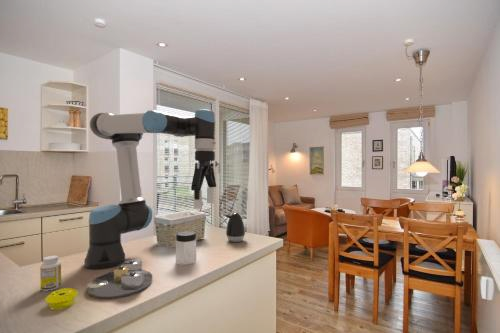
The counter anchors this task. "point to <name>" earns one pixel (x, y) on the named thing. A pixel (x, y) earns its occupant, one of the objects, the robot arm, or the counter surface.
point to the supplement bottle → (50, 273)
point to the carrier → (120, 281)
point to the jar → (186, 247)
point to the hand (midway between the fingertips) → (204, 205)
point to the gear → (61, 298)
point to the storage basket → (178, 225)
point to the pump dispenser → (235, 228)
